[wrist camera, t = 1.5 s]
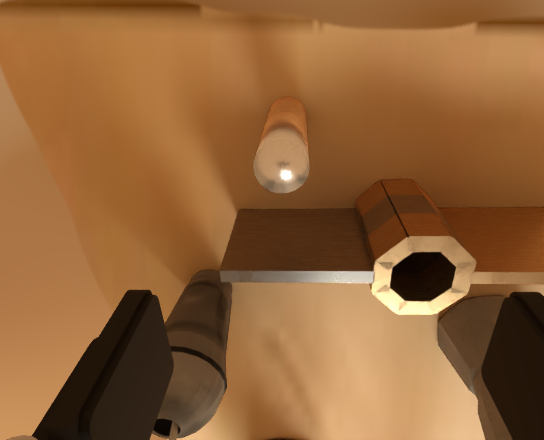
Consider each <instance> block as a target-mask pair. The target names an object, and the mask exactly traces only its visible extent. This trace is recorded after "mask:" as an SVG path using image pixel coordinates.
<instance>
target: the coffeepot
mask: <svg viewBox="0 0 544 440" xmlns="http://www.w3.org/2000/svg"><path fill="white" fill-rule="evenodd" d="M504 299H505V297H503V296H479V297H473V298H470V299H467V300H464V301H462V302H460V303H458V304H456V305H455V306H453V307H452V308H451V309H449V310H448V311H447V312H446V313H445V314H444V316H443V317H442V319H441V320H439V322H438V346H439V347H440V348H441V350H442V351H443V353H444V354H445V356H446V357H447V359H448V360H449V362H450V363H451V364H452V366H453V367H454V369H455V370H456V372H457V373H458V375H459V376H460V378H461V379H462V380H463V382H464V383H465V385H466V386H467V388H468V389H469V390H470V391H471V392H472V393H474V394H475V395H476V397H477V399H478V415H479V418H480V422H481V425H482V429H483V432H484V436H485V439H486V440H513V439H512V437H511V435H510V433H509V431H508V429H507V427H506V425H505V423H504V421H503V419H502V417H501V415H500V413H499V411H498V409H497V407H496V405H495V403H494V401H493V399H492V397H491V395H490V393H489V391H488V389H487V387H486V385H485V383H484V381H483V379H482V374H481V368H482V364H483V361H484V358H485V355H486V352H487V349H488V345H489V342H490V339H491V336H492V333H493V330H494V327H495V324H496V321H497V318H498V315H499V312H500V309H501V306H502V302H503V300H504Z"/></svg>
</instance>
